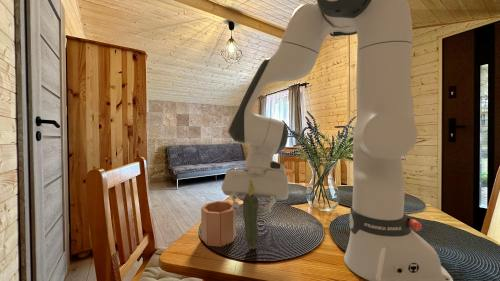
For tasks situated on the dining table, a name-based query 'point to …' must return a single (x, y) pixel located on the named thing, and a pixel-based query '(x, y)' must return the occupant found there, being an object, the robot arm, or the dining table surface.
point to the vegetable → (251, 216)
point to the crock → (218, 223)
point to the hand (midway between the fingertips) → (250, 210)
